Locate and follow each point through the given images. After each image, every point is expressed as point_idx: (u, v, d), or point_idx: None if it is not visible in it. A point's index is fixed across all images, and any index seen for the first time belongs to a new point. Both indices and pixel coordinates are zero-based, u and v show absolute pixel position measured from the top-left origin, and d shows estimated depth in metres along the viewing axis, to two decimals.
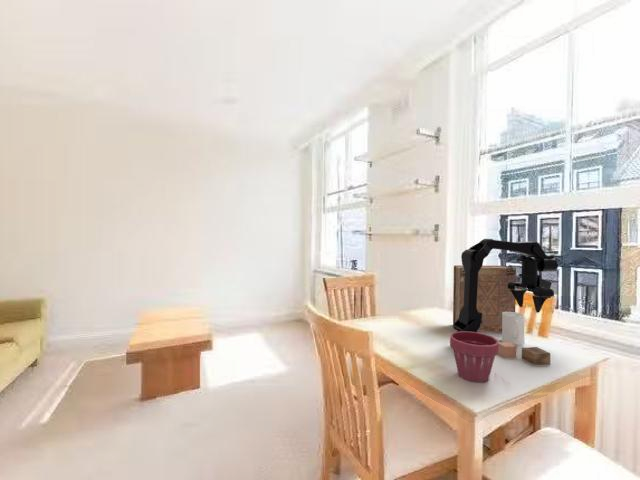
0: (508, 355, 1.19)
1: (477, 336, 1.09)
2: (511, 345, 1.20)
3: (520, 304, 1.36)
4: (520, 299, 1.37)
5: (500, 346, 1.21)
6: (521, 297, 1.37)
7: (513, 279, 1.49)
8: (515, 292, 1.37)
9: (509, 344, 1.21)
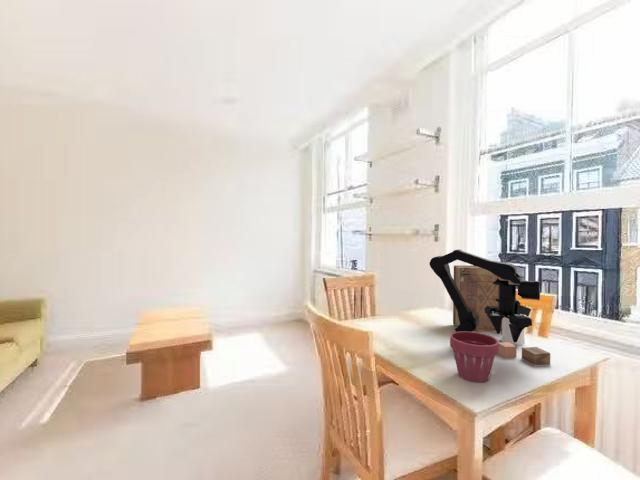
0: (508, 355, 1.19)
1: (477, 336, 1.09)
2: (511, 345, 1.20)
3: (497, 331, 1.25)
4: (498, 326, 1.25)
5: (500, 346, 1.21)
6: (499, 323, 1.25)
7: None
8: (492, 318, 1.25)
9: (509, 344, 1.21)
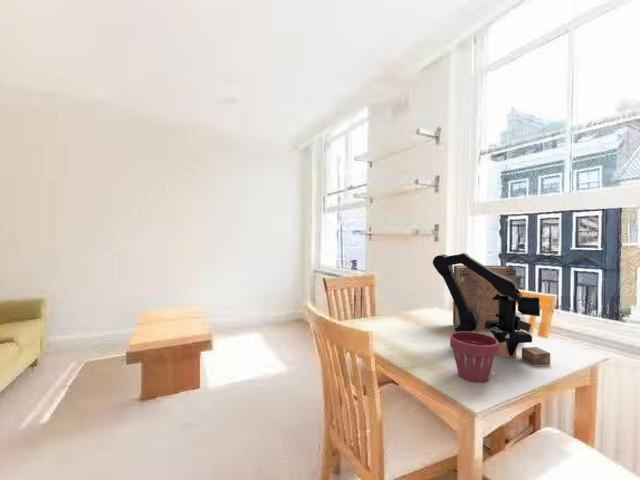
0: (508, 355, 1.19)
1: (477, 336, 1.09)
2: None
3: None
4: None
5: (500, 346, 1.21)
6: (502, 339, 1.23)
7: (513, 279, 1.48)
8: (496, 334, 1.23)
9: None
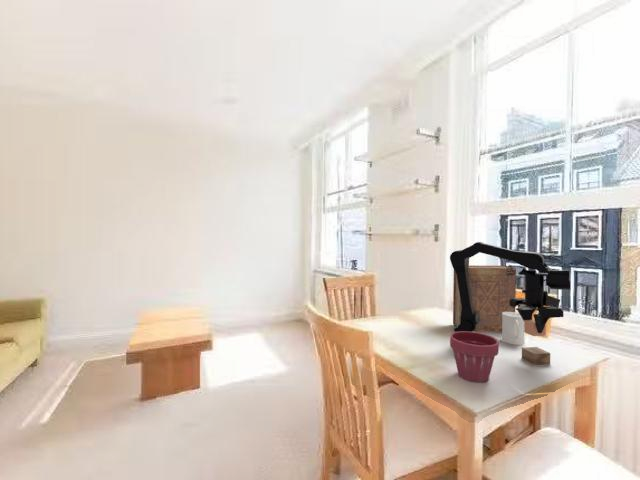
0: (537, 332, 1.12)
1: (477, 336, 1.09)
2: None
3: None
4: None
5: (528, 323, 1.15)
6: (529, 317, 1.17)
7: (513, 279, 1.48)
8: (522, 312, 1.17)
9: None
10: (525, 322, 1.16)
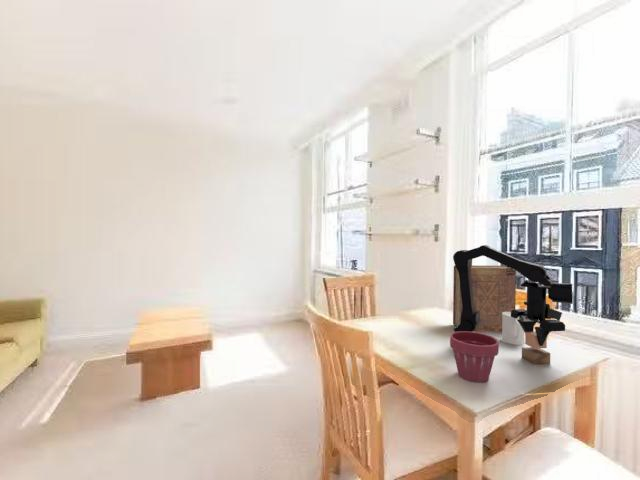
0: (538, 345, 1.12)
1: (477, 336, 1.09)
2: None
3: None
4: None
5: (529, 335, 1.14)
6: (531, 329, 1.17)
7: (513, 279, 1.49)
8: (524, 324, 1.17)
9: None
10: (526, 334, 1.16)
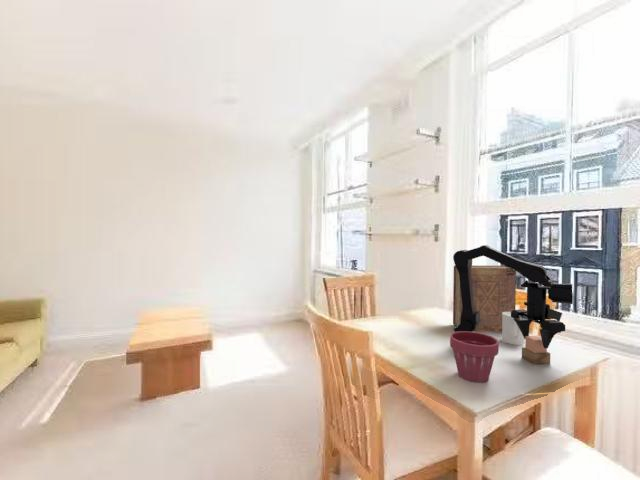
0: (538, 349, 1.12)
1: (477, 336, 1.09)
2: (541, 338, 1.13)
3: None
4: (526, 331, 1.19)
5: (529, 340, 1.14)
6: (527, 328, 1.19)
7: (513, 279, 1.49)
8: (520, 322, 1.19)
9: (538, 337, 1.14)
10: (526, 338, 1.16)
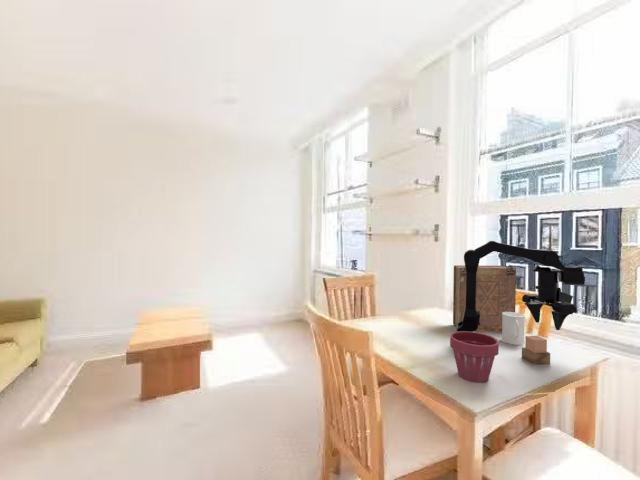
0: (538, 349, 1.12)
1: (477, 336, 1.09)
2: (541, 338, 1.13)
3: (536, 319, 1.22)
4: (537, 314, 1.22)
5: (529, 340, 1.14)
6: (538, 311, 1.22)
7: (513, 279, 1.49)
8: (531, 306, 1.22)
9: (538, 337, 1.14)
10: (526, 338, 1.16)
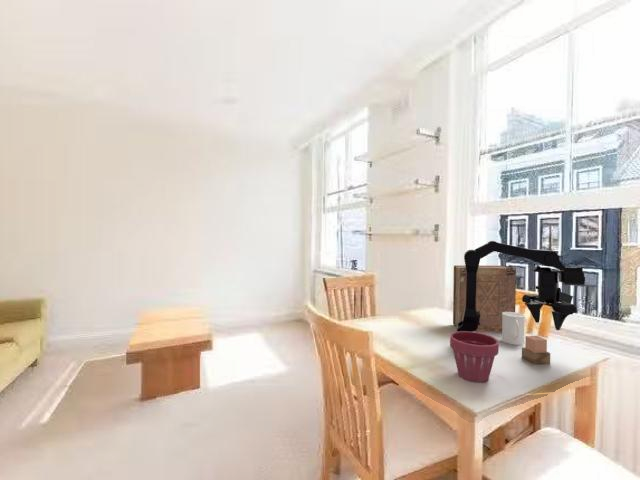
0: (538, 349, 1.12)
1: (477, 336, 1.09)
2: (541, 338, 1.13)
3: (536, 320, 1.22)
4: (537, 314, 1.22)
5: (529, 340, 1.14)
6: (538, 311, 1.23)
7: (513, 279, 1.49)
8: (531, 306, 1.23)
9: (538, 337, 1.14)
10: (526, 338, 1.16)
